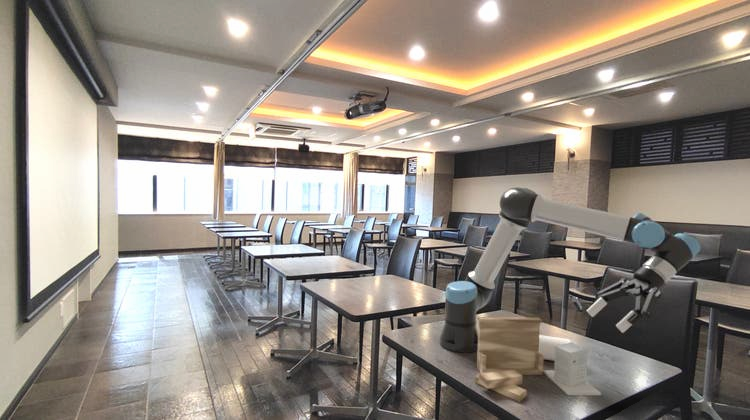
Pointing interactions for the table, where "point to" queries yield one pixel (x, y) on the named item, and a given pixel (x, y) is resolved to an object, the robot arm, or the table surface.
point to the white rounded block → (550, 346)
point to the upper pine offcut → (500, 378)
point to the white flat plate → (573, 390)
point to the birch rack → (509, 345)
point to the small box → (570, 364)
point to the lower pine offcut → (508, 390)
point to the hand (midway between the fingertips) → (603, 321)
